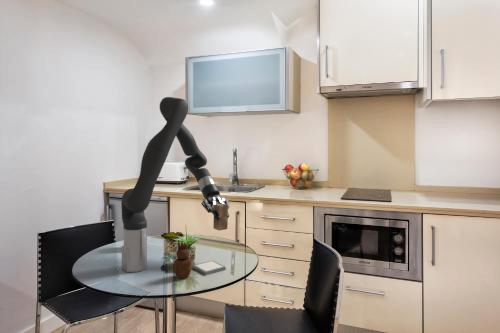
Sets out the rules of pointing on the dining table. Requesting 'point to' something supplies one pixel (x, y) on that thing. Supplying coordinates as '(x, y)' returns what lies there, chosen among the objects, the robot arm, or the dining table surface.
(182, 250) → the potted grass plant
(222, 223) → the walnut block
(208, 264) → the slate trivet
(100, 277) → the dining table surface
